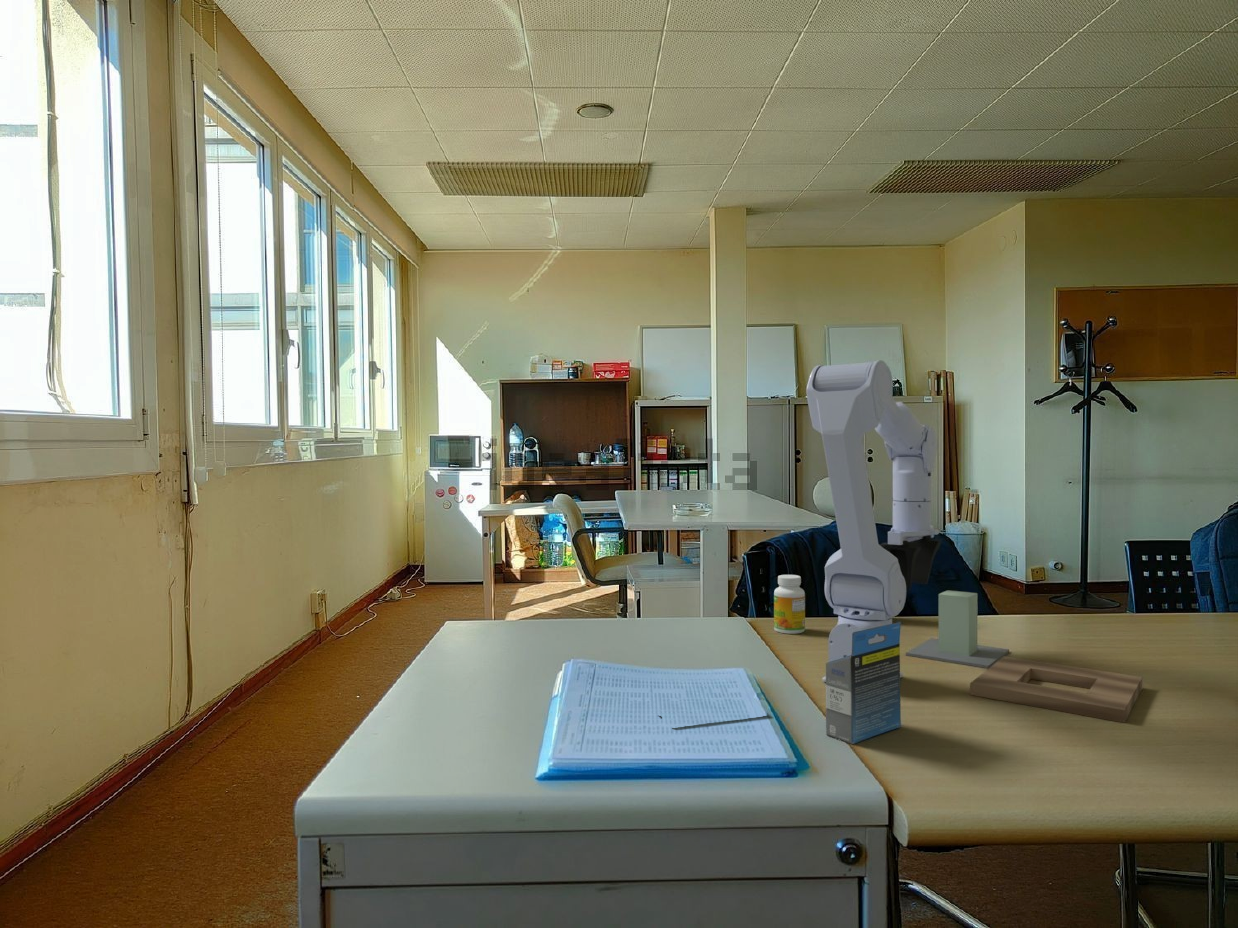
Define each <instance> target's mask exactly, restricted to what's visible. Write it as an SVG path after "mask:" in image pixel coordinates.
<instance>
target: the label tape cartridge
mask: <svg viewBox="0 0 1238 928" xmlns="http://www.w3.org/2000/svg"><path fill="white" fill-rule="evenodd" d="M901 628H902V623H901V621H897V622H894V623H893V622H892V624H889V625H884V626H879V627H875V628H870V629H866V630H862V631H856V632H853V633H852V654H851V655H849V656H846V657H843V658H839V659H836V660H833V661H829V660H828V661H827V662H825V676H826V682H825V735H826V736H828V737H830V738H832V739H835V738H837V739H836V740H838V739H840V740H841V742H844V743H847V744H849V745H855V744H857V743H860V742H862V741H865V740H867V739H870V738H872V737H876V736H878V735H882V734H884V733H887V732H891V731H892V730H895V729H898V728H902V725H901V724H902V718H901V717H902V715H901V709H902V708H901V678H900V672H901V657H900V656H901V651H900V650H901V648H900V645H901V644H900V643H901V642H900V639H901ZM876 634H877V635H878V636H879V637H880V636H884V640H883V641H880V642H876V643H872V644H869V643H868V641H869V639H872V638H874V637H875V636H876ZM840 740H839V741H840Z"/></svg>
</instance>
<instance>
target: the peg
mask: <svg viewBox="0 0 1238 928" xmlns="http://www.w3.org/2000/svg"><path fill="white" fill-rule="evenodd" d="M938 639H939V652H944V653H951V654H957V655H964V656H970V655H972V654H973V653H974V652H976V651H977V645H978V593H977V592H970V591H960V590H959V591H958V590H950V589H949V590H948V589H947V590H945V591H942V592H940V593H938Z"/></svg>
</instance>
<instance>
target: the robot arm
mask: <svg viewBox="0 0 1238 928" xmlns="http://www.w3.org/2000/svg"><path fill="white" fill-rule="evenodd" d="M808 376H809V377H808V382H807V385H806V390H805V392H806V398H807V405H808V410H809V411H808V412H809V415H810V420H811V425H812V429H813V430H816V432H818V433H819V434H821V438H822V446H823V451H824V456H825V462H826V468H827V475H828V481H829V486H830V492H831V499H832V504H833V510H834V516H835V521H836V528H837V532H838V539H839V547H840V549H838V550H837V551H836V552H834V553H832V555H830V556H829V558H828V560H826V563H825V564H824V565H825V566H824V576H825V577H824V578H825V579H824V596H825V599H826V601H827V604H828V605H829V606H830V607H831V608H832V609H833V614H834V615H838V616H837V619H838V620H837V624H836V625H835V626H834V627H833V628H832V630H831V631H830V633H829V635H828V662H829V661H833V660H836V659H839V658H843V657H846V656H849V655H851V654H852V633H853V632H856V631H862V630H866V629H870V628H875V627H879V626H884V625H889V624H893V618H894V617H895V616H898V615H899V614H900V613H901V611H902V610H903V609H904V607H905V603H906V599H907V592H908V591H911V588H912V583H913V584H917V585H918V584H920V585H928V582H929V579H930V575H931V571H932V567H933V563H934V559H935V557H936V555H937V552H938V550H939V549H940V547H941V545H942V540H941V539H937V538H934V537H935V535H939V534H940V530H939V529H936V528H934V527H935V526H934V525H932V473H933V472H934V470H935V461H936V460H935V459H936V455H937V449H938V439H937V434H936V431H935V429H934V428H933V427H931V428H930V426H929V425H928V424H921V422H920V420H919V419H918V418H917V417H916V415H915V414H914V412H912V410H911V409H910V408H909V407H908V406H907V405H906V404H905V403H904V402H902V401H896V400H895V398H894V397H893V390H894V389H893V383H894V381H893V376H892V372H891V369H890V367H889V366H888V364H887V363H886V362H885V361H884V360H881V359H877V360H875V361H867V362H858V363H857V362H856V363H854V362H853V363H844V364H833V365H832V364H831V365H823V364H818V365H816V366H814V367H813V369H812V370H811V372H810V375H808ZM872 430H875V432H876V433H877V434H878V435H879V436H880V437H881V438H882V439H883V441H884V442H883V443H884V444H883V445H884V447H885V450H886V454H887V457H888V460H890V461H891V462H892V527H891V528H890V530H889V531H887V542H882V543H881V544H879V540H878V533H877V525H876V521H875V520H876V519H875V514H874V505H873V499H872V495H871V494H872V493H871V489H870V488H871V487H870V480H869V475H868V473H869V472H868V468H867V460H866V454H865V448H864V447H865V446H864V442H863V440H864V439H863V438H864V435H865V434H866V433H869V432H871V431H872ZM880 545H881V546H880ZM883 640H884V636H880V637H879V636H878V635H877V634H876V636H875V637H874V638H872V639H869V641H868V643H869V644H872V643H876V642H880V641H883ZM903 676H904V673H903V672H901V671H900V679H901V678H902V677H903ZM821 678H822V679H821V680H822V682H825V683H826V675H824V676H823V677H821Z"/></svg>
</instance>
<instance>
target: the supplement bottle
mask: <svg viewBox="0 0 1238 928" xmlns="http://www.w3.org/2000/svg"><path fill="white" fill-rule="evenodd" d="M801 583H802V578H801V576H800V575H797V574H781V575H778V576H777V584H778V587H776V588H775V589H774V590H773V591H774V592H773V629H774V631H775V632H777V633H781V634H786V635H787V634H789V635H797V634H801V633H804V632H805V630H806V593H805V590H804V589H803V588H802V587H800V586H801Z"/></svg>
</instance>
